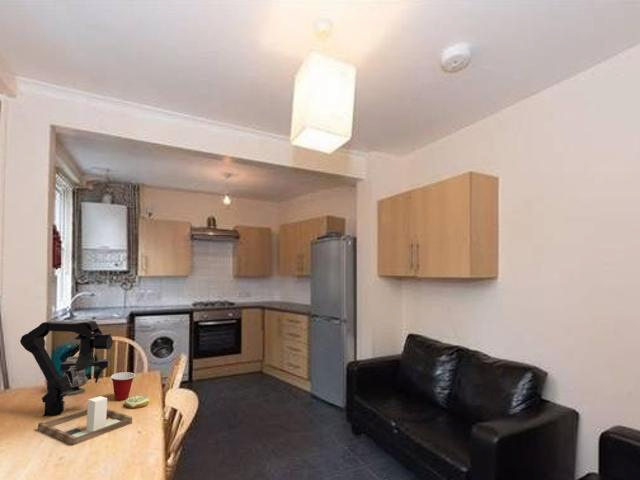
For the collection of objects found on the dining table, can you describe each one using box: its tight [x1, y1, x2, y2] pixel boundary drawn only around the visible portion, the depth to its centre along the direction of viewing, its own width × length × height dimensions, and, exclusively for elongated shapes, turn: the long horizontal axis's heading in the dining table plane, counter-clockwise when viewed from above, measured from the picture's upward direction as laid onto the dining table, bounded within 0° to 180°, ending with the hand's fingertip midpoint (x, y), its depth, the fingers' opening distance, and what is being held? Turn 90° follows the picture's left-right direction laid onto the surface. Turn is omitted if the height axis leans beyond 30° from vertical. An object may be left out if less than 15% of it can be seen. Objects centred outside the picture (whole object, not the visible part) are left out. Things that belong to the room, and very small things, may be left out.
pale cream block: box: [85, 395, 109, 432], centre depth 150 cm, size 5×5×12 cm
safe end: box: [73, 419, 120, 437], centre depth 149 cm, size 8×21×1 cm, turn 151°
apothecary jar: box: [63, 355, 89, 396], centre depth 194 cm, size 12×12×18 cm
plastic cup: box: [110, 371, 136, 402], centre depth 185 cm, size 11×11×12 cm
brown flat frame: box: [37, 408, 133, 446], centre depth 153 cm, size 26×24×2 cm
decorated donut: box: [124, 394, 150, 409], centre depth 178 cm, size 10×11×4 cm
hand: (84, 384), depth 167 cm, fingers open, 9 cm apart
